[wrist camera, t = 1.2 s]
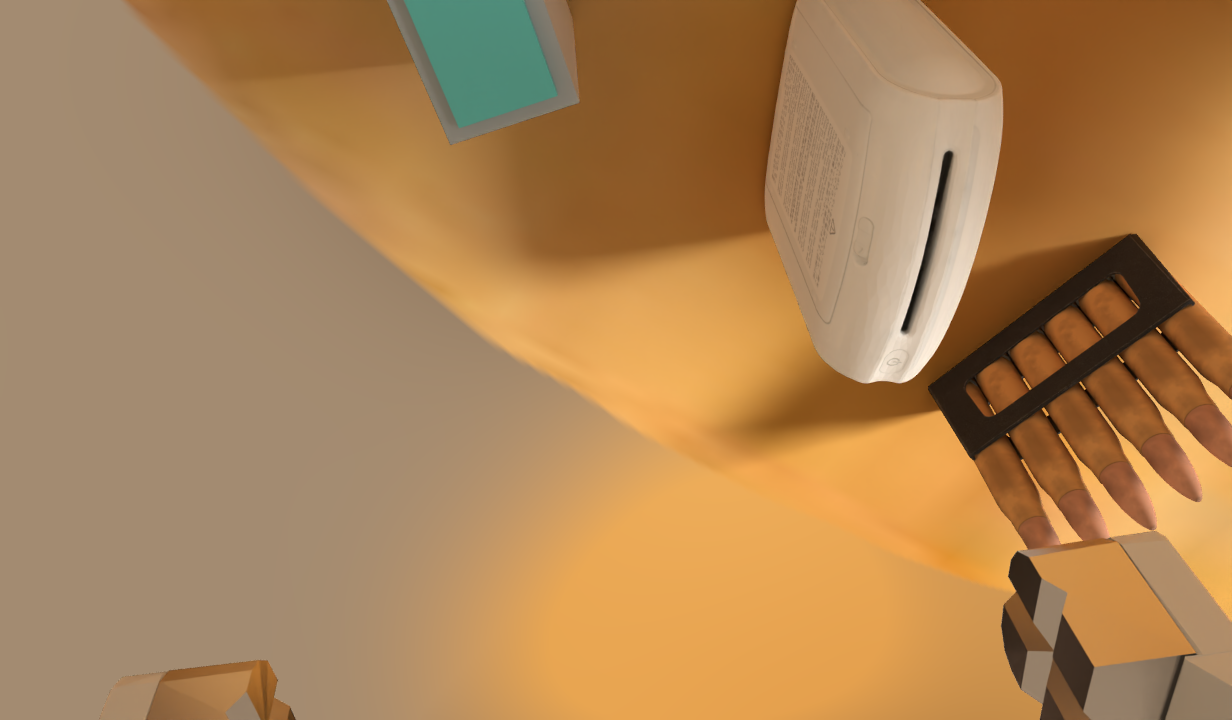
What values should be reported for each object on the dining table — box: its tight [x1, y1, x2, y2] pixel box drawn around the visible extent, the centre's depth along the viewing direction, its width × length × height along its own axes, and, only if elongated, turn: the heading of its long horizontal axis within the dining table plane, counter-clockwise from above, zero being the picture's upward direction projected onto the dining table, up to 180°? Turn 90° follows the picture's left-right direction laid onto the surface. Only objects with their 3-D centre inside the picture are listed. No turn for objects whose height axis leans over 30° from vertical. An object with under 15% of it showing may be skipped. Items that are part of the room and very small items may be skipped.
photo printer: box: [765, 0, 1003, 383], centre depth 33 cm, size 10×4×12 cm, turn 177°
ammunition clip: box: [928, 234, 1232, 549], centre depth 40 cm, size 11×2×12 cm, turn 137°
